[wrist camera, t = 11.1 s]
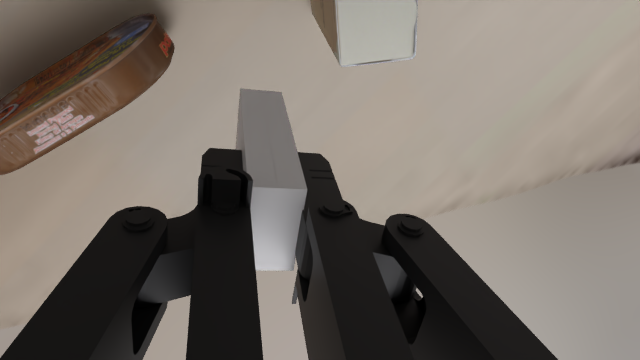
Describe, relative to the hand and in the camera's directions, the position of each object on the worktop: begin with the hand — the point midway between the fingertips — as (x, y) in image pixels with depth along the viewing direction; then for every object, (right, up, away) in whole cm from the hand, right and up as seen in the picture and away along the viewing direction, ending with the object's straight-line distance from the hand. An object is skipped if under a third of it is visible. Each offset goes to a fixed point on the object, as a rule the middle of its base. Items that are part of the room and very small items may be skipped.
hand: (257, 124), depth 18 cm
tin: (-14, +6, +17) cm, 23 cm away
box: (+4, +12, +16) cm, 20 cm away
